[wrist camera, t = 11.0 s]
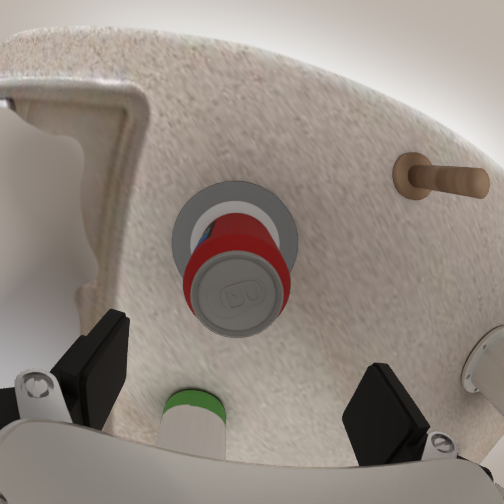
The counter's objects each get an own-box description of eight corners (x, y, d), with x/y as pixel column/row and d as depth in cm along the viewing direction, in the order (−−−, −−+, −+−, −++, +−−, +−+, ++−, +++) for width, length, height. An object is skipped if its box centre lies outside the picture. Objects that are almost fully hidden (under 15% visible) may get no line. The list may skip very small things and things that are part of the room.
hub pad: (278, 166, 28) (280, 166, 27) (308, 282, 31) (310, 285, 30) (157, 202, 28) (155, 203, 27) (196, 313, 32) (195, 317, 31)
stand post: (424, 149, 28) (494, 148, 18) (432, 193, 30) (501, 208, 19) (388, 156, 28) (454, 155, 18) (397, 203, 30) (463, 221, 19)
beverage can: (190, 224, 28) (160, 261, 17) (260, 201, 28) (277, 223, 16) (214, 289, 30) (203, 359, 18) (280, 268, 30) (307, 329, 18)
